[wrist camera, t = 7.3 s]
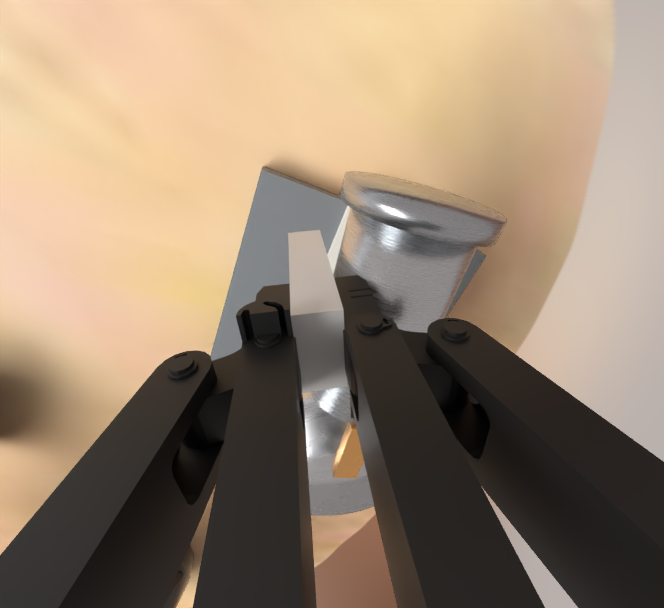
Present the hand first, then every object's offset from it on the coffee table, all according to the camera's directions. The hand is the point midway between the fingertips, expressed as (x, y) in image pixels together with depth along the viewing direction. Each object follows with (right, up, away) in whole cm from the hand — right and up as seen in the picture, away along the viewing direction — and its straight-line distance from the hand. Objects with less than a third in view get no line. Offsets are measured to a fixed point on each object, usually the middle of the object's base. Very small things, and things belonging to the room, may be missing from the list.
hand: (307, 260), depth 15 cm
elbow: (+2, -4, +4) cm, 6 cm away
